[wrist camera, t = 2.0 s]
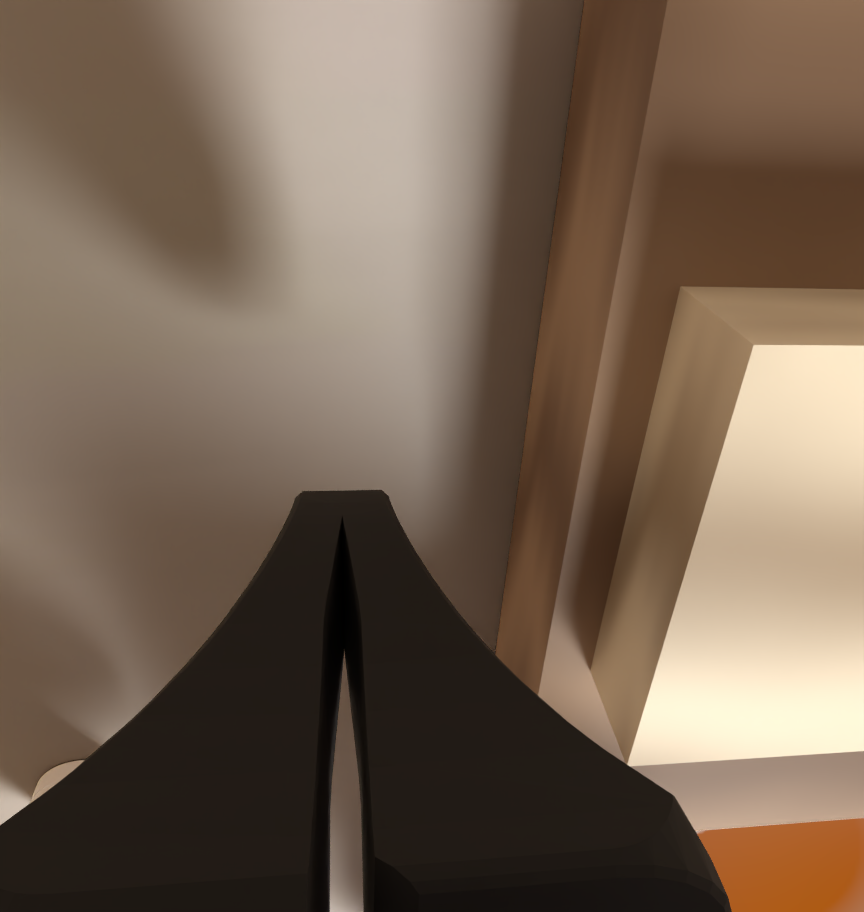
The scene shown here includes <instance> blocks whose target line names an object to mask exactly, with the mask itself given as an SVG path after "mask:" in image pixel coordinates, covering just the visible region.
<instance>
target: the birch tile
mask: <svg viewBox="0 0 864 912" xmlns="http://www.w3.org/2000/svg"><path fill="white" fill-rule="evenodd" d="M590 672H591V674H592V677H593V680H594V682H595V685H596V688H597V690H598V693H599V695H600V698H601V701H602V703H603V706H604V709H605V711H606V714H607V716H608V719H609V722H610V724H611V727H612V729H613V732H614V735H615V737H616V740H617V743H618V745H619V748H620V750H621V753H622V756H623V758H624V761H625V763H626V764H627V765H629V766H644V765H660V764H675V763H690V762H705V761H720V760H735V759H751V758H766V757H781V756H796V755H811V754H826V753H842V752H857V751H864V290H863V289H804V288H745V287H686V286H680V291H679V295H678V299H677V303H676V308H675V312H674V316H673V320H672V325H671V329H670V333H669V337H668V342H667V346H666V350H665V354H664V359H663V363H662V367H661V371H660V376H659V380H658V384H657V389H656V393H655V397H654V401H653V406H652V410H651V414H650V418H649V423H648V427H647V431H646V435H645V440H644V444H643V448H642V452H641V457H640V461H639V465H638V469H637V474H636V478H635V482H634V487H633V491H632V495H631V499H630V504H629V508H628V512H627V516H626V521H625V525H624V529H623V533H622V538H621V542H620V546H619V550H618V555H617V559H616V563H615V567H614V572H613V576H612V580H611V584H610V589H609V593H608V597H607V602H606V606H605V610H604V614H603V619H602V623H601V627H600V631H599V636H598V640H597V644H596V648H595V653H594V657H593V661H592V665H591V670H590Z"/></svg>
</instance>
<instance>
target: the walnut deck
mask: <svg viewBox="0 0 864 912" xmlns="http://www.w3.org/2000/svg"><path fill="white" fill-rule="evenodd" d="M680 286H686V287H745V288H804V289H863V290H864V0H584V5H583V13H582V20H581V27H580V35H579V42H578V49H577V57H576V64H575V72H574V79H573V86H572V94H571V101H570V108H569V116H568V123H567V130H566V138H565V145H564V152H563V160H562V167H561V175H560V182H559V189H558V197H557V204H556V211H555V219H554V226H553V233H552V241H551V248H550V255H549V263H548V270H547V278H546V285H545V292H544V300H543V307H542V314H541V322H540V329H539V336H538V344H537V351H536V358H535V366H534V373H533V381H532V388H531V395H530V403H529V410H528V417H527V425H526V432H525V439H524V447H523V454H522V462H521V469H520V476H519V484H518V491H517V498H516V506H515V513H514V520H513V528H512V535H511V542H510V550H509V557H508V565H507V572H506V579H505V587H504V594H503V601H502V609H501V616H500V623H499V631H498V638H497V645H496V653H495V655H496V656H497V657H498V658H499V659H500V660H501V661H502V662H503V663H504V664H505V665H506V666H507V667H508V668H509V669H510V670H511V671H512V672H513V673H514V674H515V675H516V676H517V677H518V678H519V679H520V680H521V681H522V682H523V683H524V684H525V685H527V686H528V687H529V688H530V689H531V690H532V691H533V692H535V693H536V694H537V695H538V696H539V697H540V698H541V699H543V700H544V701H545V702H546V703H547V704H548V705H549V706H551V707H552V708H553V709H554V710H555V711H556V712H557V713H559V714H560V715H561V716H562V717H563V718H564V719H565V720H567V721H568V722H569V723H570V724H572V725H573V726H574V727H575V728H577V729H578V730H579V731H581V732H582V733H583V734H585V735H586V736H587V737H588V738H590V739H591V740H592V741H594V742H595V743H596V744H598V745H599V746H600V747H602V748H603V749H605V750H606V751H607V752H609V753H610V754H612V755H614V756H615V757H617V758H618V759H620V760H621V761H623V762H624V763H625V761H624V758H623V756H622V753H621V750H620V748H619V745H618V743H617V740H616V737H615V735H614V732H613V729H612V727H611V724H610V722H609V719H608V716H607V714H606V711H605V709H604V706H603V703H602V701H601V698H600V695H599V693H598V690H597V688H596V685H595V682H594V680H593V677H592V674H591V672H590V670H591V665H592V661H593V657H594V653H595V648H596V644H597V640H598V636H599V631H600V627H601V623H602V619H603V614H604V610H605V606H606V602H607V597H608V593H609V589H610V584H611V580H612V576H613V572H614V567H615V563H616V559H617V555H618V550H619V546H620V542H621V538H622V533H623V529H624V525H625V521H626V516H627V512H628V508H629V504H630V499H631V495H632V491H633V487H634V482H635V478H636V474H637V469H638V465H639V461H640V457H641V452H642V448H643V444H644V440H645V435H646V431H647V427H648V423H649V418H650V414H651V410H652V406H653V401H654V397H655V393H656V389H657V384H658V380H659V376H660V371H661V367H662V363H663V359H664V354H665V350H666V346H667V342H668V337H669V333H670V329H671V325H672V320H673V316H674V312H675V308H676V303H677V299H678V295H679V291H680ZM630 767H632V768H633V769H635V770H636V771H638V772H639V773H641V774H642V775H644V776H645V777H647V778H648V779H650V780H651V781H653V782H654V783H656V784H657V785H659V786H660V787H662V788H663V789H665V790H666V791H668V792H669V793H671V794H672V795H674V796H675V798H676V799H677V801H678V803H679V804H680V806H681V808H682V809H683V811H684V813H685V815H686V816H687V818H688V820H689V821H690V823H691V825H692V827H693V828H694V830H695V831H700V830H713V829H726V828H738V827H751V826H765V825H777V824H790V823H801V822H802V823H803V822H816V821H829V820H842V819H854V818H864V751H857V752H842V753H826V754H811V755H796V756H781V757H766V758H751V759H735V760H720V761H705V762H690V763H675V764H660V765H644V766H630Z"/></svg>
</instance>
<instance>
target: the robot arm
mask: <svg viewBox="0 0 864 912" xmlns="http://www.w3.org/2000/svg"><path fill="white" fill-rule="evenodd" d="M344 650H345V659H346V668H347V676H348V685H349V694H350V703H351V712H352V720H353V729H354V738H355V746H356V755H357V764H358V773H359V784H360V797H361V818H362V861H363V904H364V912H732V911H731V908H730V903H729V899H728V896H727V894H726V892H725V889H724V887H723V885H722V883H721V880H720V878H719V876H718V873H717V871H716V869H715V867H714V865H713V862H712V860H711V858H710V856H709V854H708V853H707V851H706V849H705V847H704V846H703V844H702V842H701V840H700V839H699V837H698V835H697V833H696V832H695V830H694V828H693V827H692V825H691V823H690V821H689V820H688V818H687V816H686V815H685V813H684V811H683V809H682V808H681V806H680V804H679V803H678V801H677V799H676V798H675V796H674V795H672V794H671V793H669V792H668V791H666V790H665V789H663V788H662V787H660V786H659V785H657V784H656V783H654V782H653V781H651V780H650V779H648V778H647V777H645V776H644V775H642V774H641V773H639V772H638V771H636V770H635V769H633V768H632V767H630V766H629V765H627V764H626V763H624V762H623V761H621V760H620V759H618V758H617V757H615V756H614V755H612V754H610V753H609V752H607V751H606V750H605V749H603V748H602V747H600V746H599V745H598V744H596V743H595V742H594V741H592V740H591V739H590V738H588V737H587V736H586V735H585V734H583V733H582V732H581V731H579V730H578V729H577V728H575V727H574V726H573V725H572V724H570V723H569V722H568V721H567V720H565V719H564V718H563V717H562V716H561V715H560V714H559V713H557V712H556V711H555V710H554V709H553V708H552V707H551V706H549V705H548V704H547V703H546V702H545V701H544V700H543V699H541V698H540V697H539V696H538V695H537V694H536V693H535V692H533V691H532V690H531V689H530V688H529V687H528V686H527V685H525V684H524V683H523V682H522V681H521V680H520V679H519V678H518V677H517V676H516V675H515V674H514V673H513V672H512V671H511V670H510V669H509V668H508V667H507V666H506V665H505V664H504V663H503V662H502V661H501V660H500V659H499V658H498V657H497V656H496V655H495V654H494V653H493V652H492V651H491V650H490V649H489V647H488V646H487V645H486V644H485V643H484V642H483V641H482V640H481V639H480V638H479V637H478V635H477V634H476V633H475V632H474V631H473V630H472V628H471V627H470V626H469V625H468V624H467V623H466V621H465V620H464V619H463V618H462V616H461V615H460V614H459V613H458V611H457V610H456V609H455V608H454V606H453V605H452V604H451V602H450V601H449V600H448V598H447V597H446V596H445V594H444V593H443V592H442V590H441V589H440V587H439V586H438V585H437V583H436V582H435V580H434V579H433V578H432V576H431V575H430V573H429V571H428V570H427V568H426V567H425V565H424V564H423V562H422V561H421V559H420V558H419V556H418V554H417V553H416V551H415V550H414V548H413V546H412V545H411V543H410V541H409V539H408V538H407V536H406V534H405V532H404V530H403V528H402V527H401V525H400V523H399V521H398V519H397V516H396V514H395V512H394V510H393V507H392V505H391V502H390V500H389V496H388V495H387V494H385V493H384V492H383V491H382V490H356V491H303V492H302V493H300V494H299V495H298V496H297V497H296V498H295V501H294V504H293V507H292V509H291V511H290V514H289V516H288V518H287V520H286V522H285V524H284V526H283V528H282V530H281V532H280V534H279V536H278V538H277V539H276V541H275V543H274V545H273V547H272V548H271V550H270V552H269V553H268V555H267V556H266V558H265V560H264V561H263V563H262V565H261V566H260V568H259V570H258V571H257V573H256V574H255V576H254V578H253V579H252V581H251V582H250V584H249V585H248V586H247V588H246V589H245V591H244V592H243V593H242V595H241V596H240V598H239V599H238V600H237V602H236V603H235V605H234V606H233V607H232V609H231V610H230V612H229V613H228V614H227V616H226V617H225V618H224V620H223V621H222V622H221V623H220V625H219V626H218V627H217V629H216V630H215V631H214V632H213V634H212V635H211V636H210V637H209V638H208V640H207V641H206V642H205V643H204V644H203V646H202V647H201V648H200V649H199V650H198V651H197V652H196V654H195V655H194V656H193V657H192V658H191V659H190V661H189V662H188V663H187V664H186V665H185V666H184V667H183V668H182V669H181V670H180V671H179V672H178V674H177V675H176V676H175V677H174V678H173V679H172V680H171V681H170V682H169V683H168V684H167V685H166V686H165V687H164V688H163V689H162V690H161V691H160V692H159V693H158V694H157V695H156V696H155V697H154V698H153V699H152V700H151V701H150V702H149V703H148V704H147V705H146V706H145V707H144V708H143V709H142V710H141V711H140V712H139V713H138V714H137V715H136V716H135V717H134V718H133V719H132V720H130V721H129V722H128V723H127V724H126V725H125V726H124V727H123V728H121V729H120V730H119V731H118V732H117V733H116V734H115V735H113V736H112V737H111V738H110V739H109V740H108V741H106V742H105V743H104V744H103V745H102V746H101V747H100V748H98V749H97V750H96V751H95V752H94V753H93V754H92V755H90V756H89V757H88V758H87V759H86V760H85V761H83V762H82V763H81V764H80V765H79V766H78V767H77V768H75V769H74V770H73V771H72V772H71V773H69V774H68V775H67V776H66V777H64V778H63V779H62V780H61V781H59V782H58V783H57V784H56V785H54V786H53V787H52V788H50V789H49V790H48V791H46V792H45V793H44V794H42V795H41V796H40V797H38V798H37V799H35V800H34V801H33V802H31V803H30V804H29V805H27V806H26V807H25V808H23V809H22V810H21V811H19V812H18V813H16V814H15V815H14V816H12V817H11V818H10V819H8V820H7V821H6V822H4V823H3V824H2V825H0V912H330V803H331V785H332V772H333V762H334V751H335V741H336V731H337V720H338V710H339V700H340V689H341V679H342V668H343V658H344Z"/></svg>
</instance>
